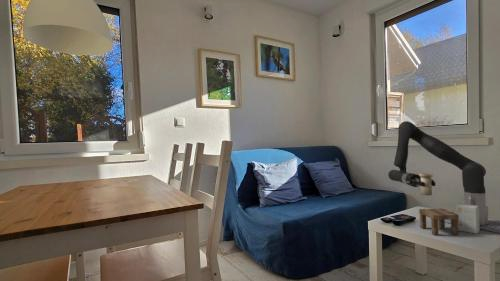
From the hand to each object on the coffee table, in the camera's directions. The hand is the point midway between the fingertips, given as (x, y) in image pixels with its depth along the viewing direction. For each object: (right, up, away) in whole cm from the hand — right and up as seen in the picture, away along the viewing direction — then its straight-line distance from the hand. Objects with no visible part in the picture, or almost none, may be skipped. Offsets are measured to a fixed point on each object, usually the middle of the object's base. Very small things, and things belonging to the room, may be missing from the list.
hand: (429, 184), depth 141 cm
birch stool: (0, -6, +3) cm, 7 cm away
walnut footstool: (+3, -24, -3) cm, 24 cm away
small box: (+18, -24, -4) cm, 30 cm away
